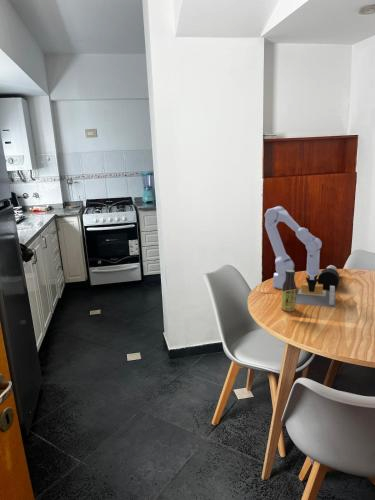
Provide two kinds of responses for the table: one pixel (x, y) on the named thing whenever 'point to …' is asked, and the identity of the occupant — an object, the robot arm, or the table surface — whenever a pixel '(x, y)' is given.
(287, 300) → the sauce bottle
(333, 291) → the clasp
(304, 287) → the block
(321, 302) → the board
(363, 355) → the table surface
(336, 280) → the black and grey cylinder
